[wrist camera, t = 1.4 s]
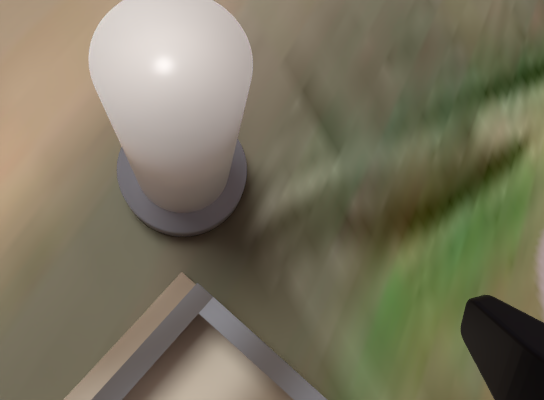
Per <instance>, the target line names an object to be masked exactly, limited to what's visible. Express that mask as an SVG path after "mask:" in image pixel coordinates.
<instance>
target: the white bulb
mask: <svg viewBox="0 0 544 400" xmlns="http://www.w3.org/2000/svg"><path fill="white" fill-rule="evenodd" d="M89 70H90V74H91V78H92V81H93V84H94V86H95V89H96V91H97V93H98V95H99V98H100V100H101V102H102V104H103V106H104V109H105V111H106V113H107V115H108V117H109V120H110V122H111V124H112V126H113V128H114V131H115V133H116V135H117V137H118V139H119V142H120V144H121V146H122V147H121V150H120V153H119V157H118V162H117V178H118V183H119V187H120V190H121V192H122V195H123V197H124V198H125V200H126V202H127V204H128V205H129V207H130V208H131V210H132V211H133V212H134V214H135V215H136V216H137V217H138V218H139V219H140V220H141V221H142V222H143V223H144V224H146V225H147V226H149V227H150V228H152V229H154V230H156V231H158V232H160V233H163V234H167V235H170V236H177V237H188V236H196V235H200V234H203V233H206V232H208V231H211V230H212V229H214V228H216V227H218V226H219V225H220V224H222V223H223V222H224V221H225V220H226V219H227V218H228V217H229V216H230V215H231V214H232V213H233V211H234V210H235V208H236V206H237V205H238V203H239V200H240V198H241V195H242V193H243V190H244V187H245V183H246V177H247V164H246V157H245V154H244V150H243V148H242V146H241V144H240V142H239V140H238V134H239V130H240V125H241V121H242V117H243V113H244V108H245V104H246V100H247V96H248V91H249V87H250V83H251V78H252V72H253V58H252V51H251V47H250V44H249V41H248V38H247V36H246V34H245V32H244V30H243V29H242V27H241V25H240V24H239V23H238V21H237V20H236V19H235V18H234V17H233V16H232V15H231V14H230V13H229V12H228V11H227V10H226V9H225V8H224V7H222V6H221V5H220V4H218V3H217V2H215V1H213V0H123V1H121V2H120V3H119V4H117V5H116V6H115V7H113V8H112V9H111V10H110V11H109V12H108V13H107V14H106V15H105V16H104V18H103V19H102V20H101V21H100V23H99V25H98V27H97V28H96V30H95V32H94V35H93V37H92V40H91V44H90V48H89Z"/></svg>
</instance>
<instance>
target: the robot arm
mask: <svg viewBox="0 0 544 400" xmlns="http://www.w3.org/2000/svg"><path fill="white" fill-rule="evenodd" d="M461 335H462V338H463V340H464V342H465V344H466V346H467V348H468V350H469V352H470V354H471V356H472V357H473V359H474V361H475V363H476V365H477V367H478V369H479V371H480V373H481V375H482V377H483V378H484V380H485V382H486V384H487V386H488V388H489V390H490V392H491V394H492V396H493V398H494V399H495V400H544V323H543V322H541V321H539V320H537V319H535V318H533V317H532V316H530V315H528V314H526V313H524V312H522V311H520V310H518V309H516V308H514V307H512V306H510V305H508V304H506V303H505V302H503V301H501V300H499V299H497V298H495V297H493V296H490V295H483V296H479V297H475V298H471V299H469V300H468V301H467V303H466V306H465V311H464V315H463V319H462V323H461Z"/></svg>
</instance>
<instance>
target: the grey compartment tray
mask: <svg viewBox="0 0 544 400" xmlns="http://www.w3.org/2000/svg"><path fill="white" fill-rule="evenodd" d="M64 400H327V399H326V398H325V397H324V396H322V395H321V394H320V393H319V392H318V391H317V390H316V389H315V388H314V387H313V386H311V385H310V384H309V383H308V382H307V381H306V380H305V379H304V378H303V377H301V376H300V375H299V374H298V373H297V372H296V371H295V370H294V369H293V368H292V367H290V366H289V365H288V364H287V363H286V362H285V361H284V360H283V359H282V358H280V357H279V356H278V355H277V354H276V353H275V352H274V351H273V350H272V349H270V348H269V347H268V346H267V345H266V344H265V343H264V342H263V341H262V340H261V339H259V338H258V337H257V336H256V335H255V334H254V333H253V332H252V331H251V330H249V329H248V328H247V327H246V326H245V325H244V324H243V323H242V322H241V321H239V320H238V319H237V318H236V317H235V316H234V315H233V314H232V313H231V312H230V311H228V310H227V309H226V308H225V307H224V306H223V305H222V304H221V303H220V302H218V301H217V300H216V299H215V298H214V297H213V296H212V295H211V294H210V293H208V292H207V291H206V290H205V289H204V288H203V287H202V286H201V285H200V284H199V283H197V284H195V283H194V282H193V281H191V280H190V279H189V278H188V277H187V276H186V275H185V274H184V273H183V272H181V273H180V274H179V275H178V276H177V278H176V279H175V280H174V281H173V282H172V283H171V284H170V285H169V286H168V287H167V288H166V289H165V290H164V292H163V293H162V294H161V295H160V296H159V297H158V298H157V299H156V300H155V301H154V302H153V303H152V305H151V306H150V307H149V308H148V309H147V310H146V311H145V312H144V313H143V314H142V315H141V316H140V318H139V319H138V320H137V321H136V322H135V323H134V324H133V325H132V326H131V327H130V328H129V329H128V330H127V332H126V333H125V334H124V335H123V336H122V337H121V338H120V339H119V340H118V341H117V342H116V343H115V345H114V346H113V347H112V348H111V349H110V350H109V351H108V352H107V353H106V354H105V355H104V356H103V358H102V359H101V360H100V361H99V362H98V363H97V364H96V365H95V366H94V367H93V368H92V369H91V370H90V372H89V373H88V374H87V375H86V376H85V377H84V378H83V379H82V380H81V381H80V382H79V383H78V385H77V386H76V387H75V388H74V389H73V390H72V391H71V392H70V393H69V394H68V395H67V396H66V398H65V399H64Z"/></svg>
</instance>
